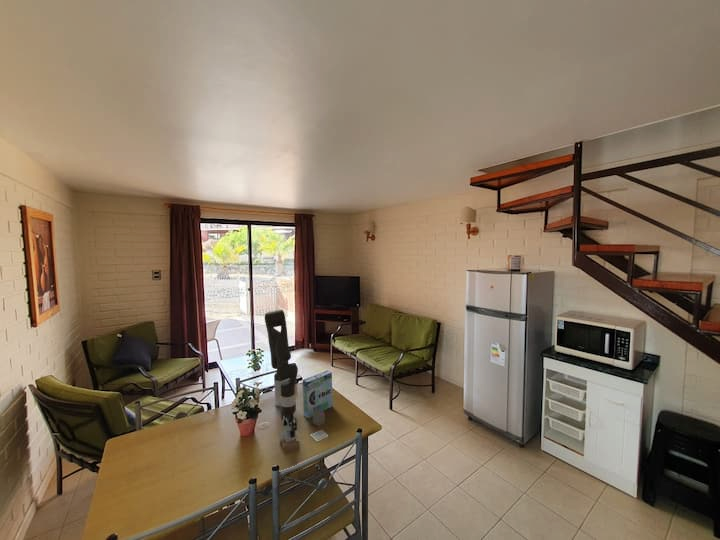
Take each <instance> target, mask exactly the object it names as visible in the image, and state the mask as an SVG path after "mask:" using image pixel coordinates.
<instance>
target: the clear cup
mask: <svg viewBox="0 0 720 540" xmlns="http://www.w3.org/2000/svg"><path fill="white" fill-rule="evenodd" d="M296 433H297V430H295V437H293V438H291V437H290V427H289V426H288V425H286V426H284V425H283V426H282V436H283V439H284V440H285V441H286V442H287V443H288V442H290V441H292V440H295V439H296V435H297V434H296Z"/></svg>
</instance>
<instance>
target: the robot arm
mask: <svg viewBox="0 0 720 540" xmlns="http://www.w3.org/2000/svg"><path fill="white" fill-rule="evenodd" d="M286 319H287V318H286V314H285V312H284V310H283V309H277V310H272V311H267V312H266V313H265V314H264V323H265V327H266V332H267V339H268V346H269V349H270V350H269V351H270V364H271V368H272V369H275V370H276V372H275V373H274V375H273V381H274V382H273V383H274V386H273V387H274V404H275V406H276V407H280V416H281V417H280V420H282V423H283V424H282V425H283V426H286V425H288V426H289V427H290V437H291V438H293V437H295V430H296V431H297V430H298V420H297V417H295V415H294V413H295V412H296V411H297V402H296V389H295V387H296V380H297V377H298V374H299V373H298V372H299V370H298V369H299V367H298V365H297V364H296V363H294V362H292V363H289V361H290V360H291V357H292V355H291V350H290V345H289V340H288V339H289V338H288V337H289V336H288V327H287V320H286ZM277 327H280V331H279V330H277V329H276V328H277Z"/></svg>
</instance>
